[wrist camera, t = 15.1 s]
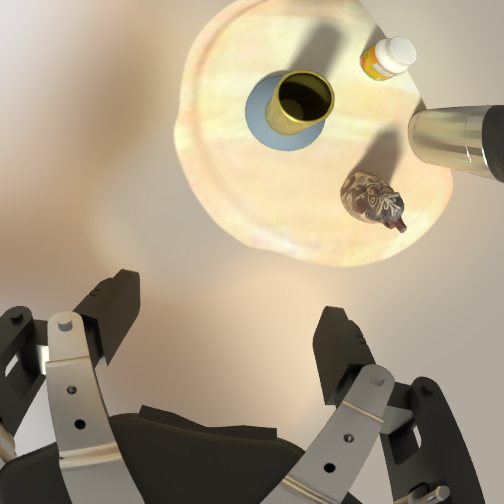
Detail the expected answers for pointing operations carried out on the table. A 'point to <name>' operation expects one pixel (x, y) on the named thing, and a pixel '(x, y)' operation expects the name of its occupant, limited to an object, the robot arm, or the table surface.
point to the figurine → (372, 201)
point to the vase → (299, 102)
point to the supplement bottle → (387, 58)
